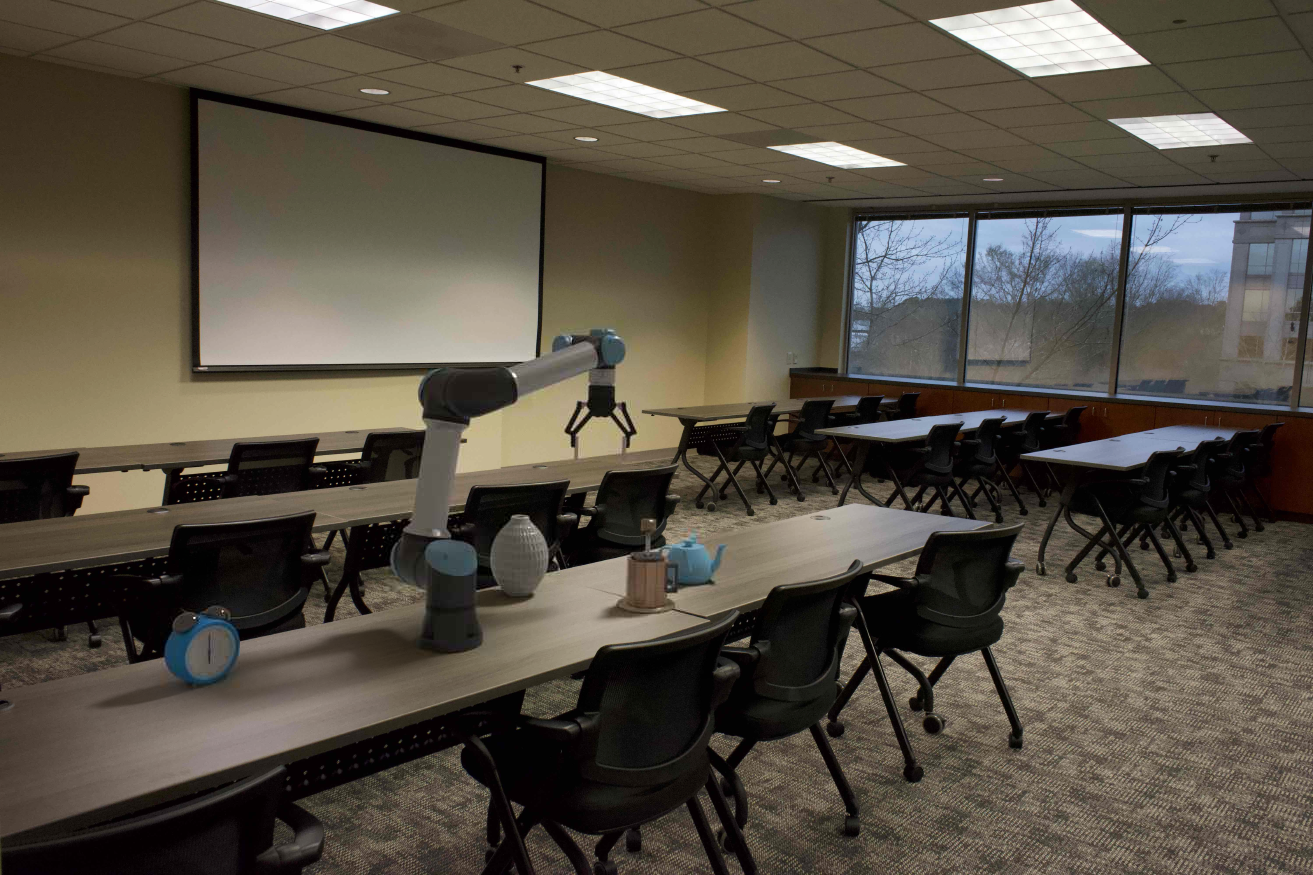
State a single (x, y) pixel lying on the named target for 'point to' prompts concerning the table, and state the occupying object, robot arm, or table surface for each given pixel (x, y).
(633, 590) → the press
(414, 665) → the table surface
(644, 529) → the plunger
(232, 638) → the alarm clock
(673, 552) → the teapot
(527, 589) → the vase
